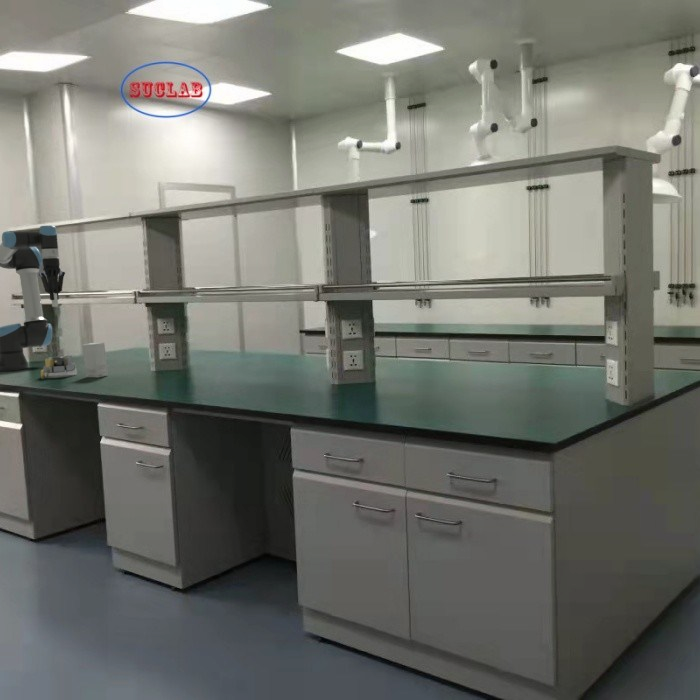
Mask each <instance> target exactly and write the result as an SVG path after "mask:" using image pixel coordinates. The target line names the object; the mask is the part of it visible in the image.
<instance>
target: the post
mask: <svg viewBox="0 0 700 700" xmlns="http://www.w3.org/2000/svg"><path fill="white" fill-rule="evenodd" d="M40 377H41V378H40V379H41V380H44V379H46V378H45V374H44V369H41V370H40Z"/></svg>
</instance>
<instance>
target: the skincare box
mask: <svg viewBox="0 0 700 700" xmlns="http://www.w3.org/2000/svg"><path fill="white" fill-rule="evenodd" d="M82 352H83V359H84V366H85V367H84V368H85V376H86V378H97V379H98V378H103V377H107V376H109V372H108V364H107V362H108V361H107V355H106V345H105V342H90V343H84V344H82Z"/></svg>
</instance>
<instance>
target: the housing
mask: <svg viewBox="0 0 700 700" xmlns="http://www.w3.org/2000/svg"><path fill="white" fill-rule="evenodd" d="M66 356H67V355H64V356H63V355H61V356H59V355H58V356H51V357H52V359H53V362H54V366H63V365H64V358H66ZM44 374H45V379H60V378H70V377H74V375H75V376H77V375H78V369H77V368H76V369H75V370H69V371H62V372H44Z"/></svg>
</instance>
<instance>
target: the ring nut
mask: <svg viewBox="0 0 700 700" xmlns="http://www.w3.org/2000/svg"><path fill="white" fill-rule="evenodd" d="M65 356H66V358H64V365H63V366H54V362H53V359H52V357H53V356H49V357H48V356H47V357H46V358H45V360H44V362H45V365H43V366H42V367H43V369H42V370H44V372H62V371H69V370H75V369H77V368H76V367H77V366H76V362H73V355H65Z"/></svg>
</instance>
